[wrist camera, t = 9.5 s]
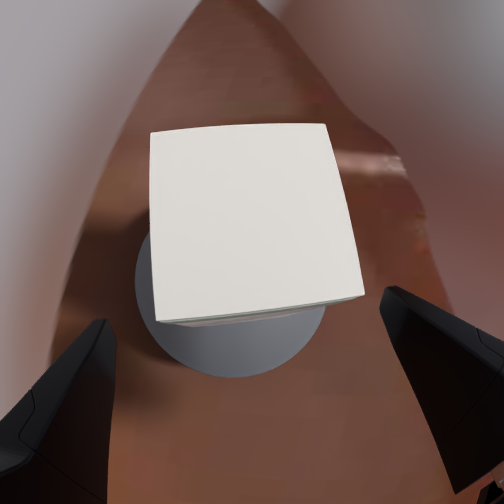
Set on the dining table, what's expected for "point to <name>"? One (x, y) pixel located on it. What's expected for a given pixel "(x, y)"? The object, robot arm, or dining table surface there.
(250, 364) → the grey dome
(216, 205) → the carton
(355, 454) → the dining table surface
